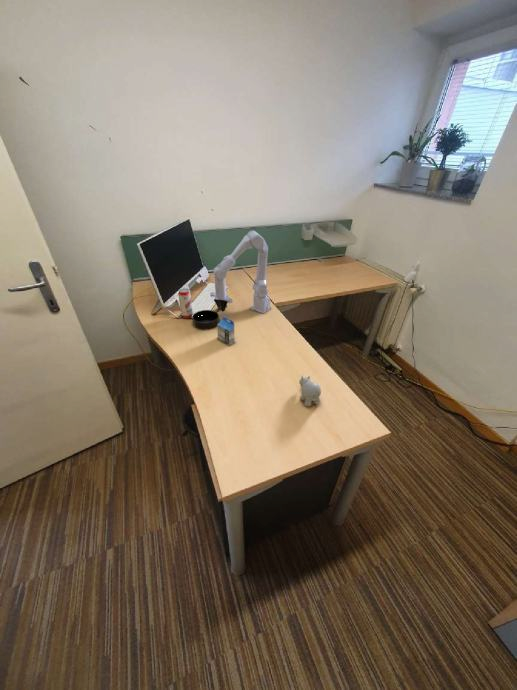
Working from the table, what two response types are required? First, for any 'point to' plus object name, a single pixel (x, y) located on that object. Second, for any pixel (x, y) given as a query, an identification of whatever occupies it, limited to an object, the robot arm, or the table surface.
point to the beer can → (185, 303)
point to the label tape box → (226, 330)
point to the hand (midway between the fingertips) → (221, 310)
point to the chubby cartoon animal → (309, 391)
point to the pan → (206, 319)
